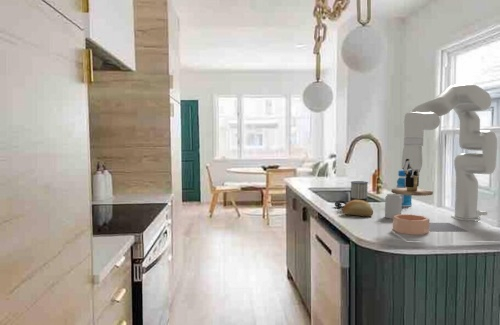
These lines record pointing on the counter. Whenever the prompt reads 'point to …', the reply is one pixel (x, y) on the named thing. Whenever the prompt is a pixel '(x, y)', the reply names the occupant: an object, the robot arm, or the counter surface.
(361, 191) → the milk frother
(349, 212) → the bread roll
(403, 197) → the beverage bottle
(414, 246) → the counter surface
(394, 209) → the can
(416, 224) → the bowl
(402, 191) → the lid
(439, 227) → the mat
